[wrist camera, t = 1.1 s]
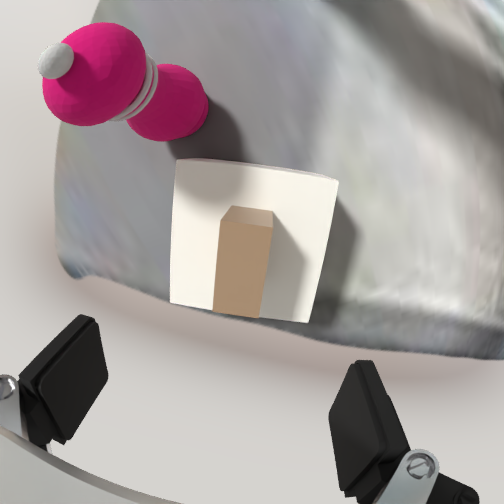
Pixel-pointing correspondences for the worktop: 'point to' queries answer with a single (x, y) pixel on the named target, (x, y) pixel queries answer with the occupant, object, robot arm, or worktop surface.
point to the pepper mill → (120, 84)
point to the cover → (249, 237)
